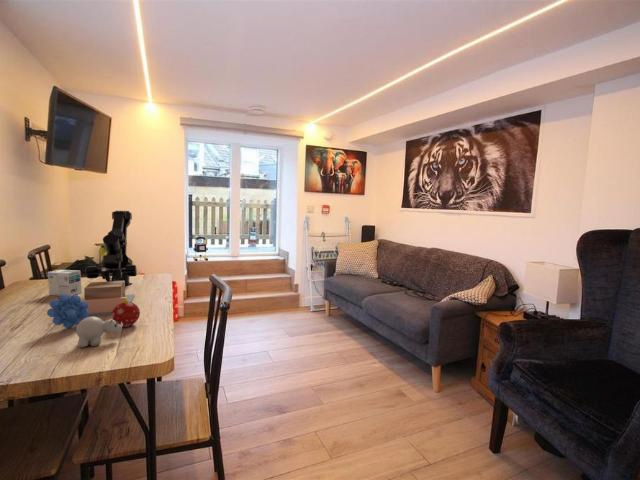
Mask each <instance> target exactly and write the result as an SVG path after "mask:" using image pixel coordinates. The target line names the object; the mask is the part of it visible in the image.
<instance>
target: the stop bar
mask: <svg viewBox="0 0 640 480" xmlns="http://www.w3.org/2000/svg"><path fill="white" fill-rule="evenodd" d="M125 298H127V297H118V298H104V299H90V300H85V299H81V301H85V302H87V303H88V308H87V309H85V310H88V311H89V313H101V312H112V311H113V309H114V308H115V307H116V306H117V305H118V304H120V303H122V302H123V300H124V299H125ZM81 301H80V302H81Z"/></svg>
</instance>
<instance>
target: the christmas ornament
mask: <svg viewBox="0 0 640 480" xmlns="http://www.w3.org/2000/svg"><path fill="white" fill-rule="evenodd" d="M140 315H141V310H140V308H139V306H138V305H137V304H135V302H133V301H132V302H128V300H127V298H125V299H124V300H123V302H122V303H120V304H118V305H117V306H116V307H115V308H114V309H113V311H112V315H111V317H113V320H115V321H116V323H117V324H119V325H120V324H121V322H122V323H123V326H122V328H126V327H130V326H132V325H134V324H135V323H137V322H138V320H139V319H140Z"/></svg>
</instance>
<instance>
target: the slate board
mask: <svg viewBox="0 0 640 480" xmlns="http://www.w3.org/2000/svg"><path fill="white" fill-rule="evenodd" d="M125 296H126V297H127V300H128V302H132V303H133V301H134V299H135V294H125ZM102 316H103V317H104V316H105V317H106V316H112V312H101V313H90V315H89V317H102Z"/></svg>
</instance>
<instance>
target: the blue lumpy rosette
mask: <svg viewBox="0 0 640 480" xmlns="http://www.w3.org/2000/svg"><path fill="white" fill-rule="evenodd" d="M81 300H82V298H81V297H80V296H79V295H78V294H76V295H72V296H68V295H65V294H63V295H61V296H58V299H52V300H51V301H50V302H49V306H50V308H49V309H48V310H47V312H46V314H47V316H48V317H49V318H52V323H53V324H54V325H56V326H62V325H63V327H64V328H66V329H71V328H73V327H74V326H75V325H76V326H77V325H78V324H79V323H80V322H81V321H82V320H83V319H85V318H87V317H89V315H90V313H89V311H88V310H85V309H87V308H88V303H87V302H85V301H81ZM80 301H81V302H80Z"/></svg>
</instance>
